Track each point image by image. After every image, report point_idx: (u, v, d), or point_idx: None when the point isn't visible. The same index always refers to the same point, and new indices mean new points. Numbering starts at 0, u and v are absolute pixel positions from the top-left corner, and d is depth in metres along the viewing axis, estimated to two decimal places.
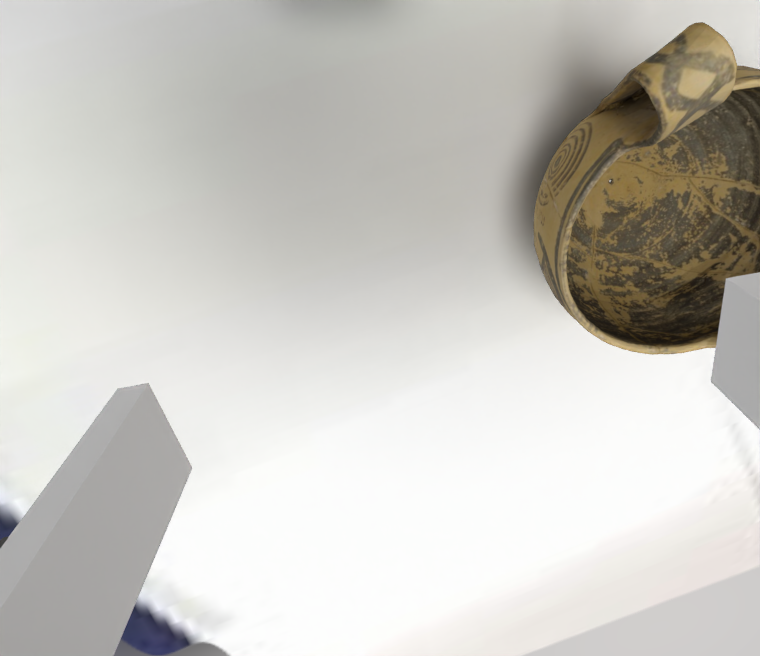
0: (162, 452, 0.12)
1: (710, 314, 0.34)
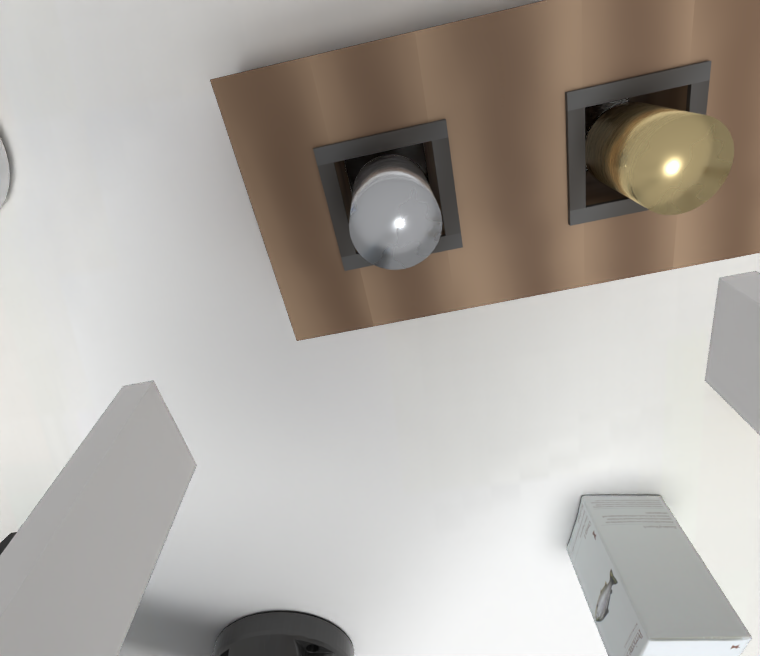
0: (167, 449, 0.12)
1: None
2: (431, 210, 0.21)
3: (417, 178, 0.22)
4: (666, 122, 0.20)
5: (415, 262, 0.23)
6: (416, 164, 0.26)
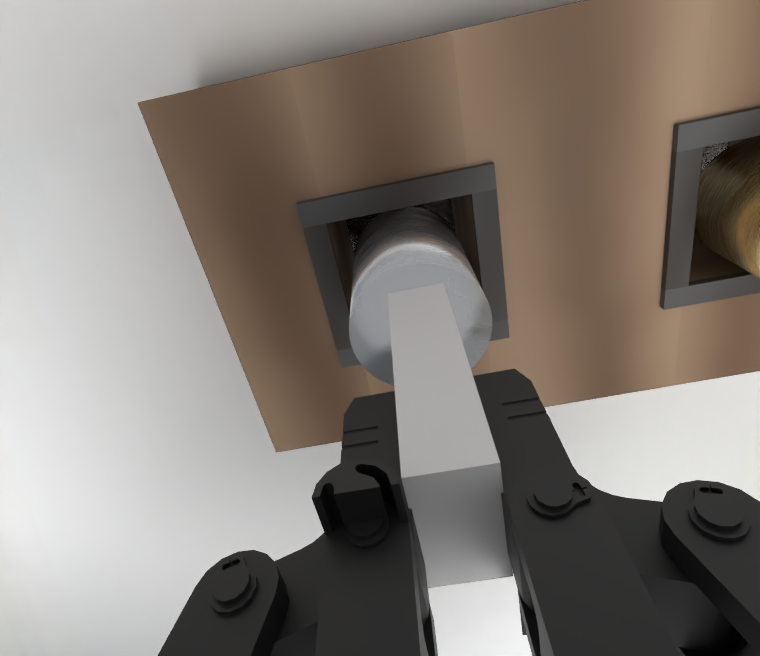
0: None
1: None
2: (477, 308, 0.14)
3: (453, 255, 0.14)
4: None
5: None
6: (444, 220, 0.18)
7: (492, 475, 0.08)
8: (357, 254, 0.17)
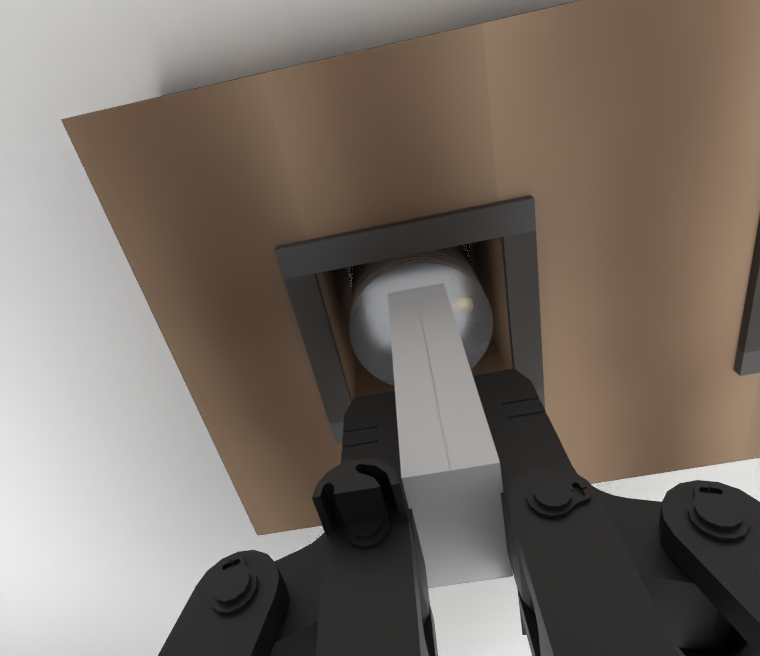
0: None
1: None
2: (477, 308, 0.14)
3: (454, 255, 0.14)
4: None
5: None
6: None
7: (492, 475, 0.08)
8: None
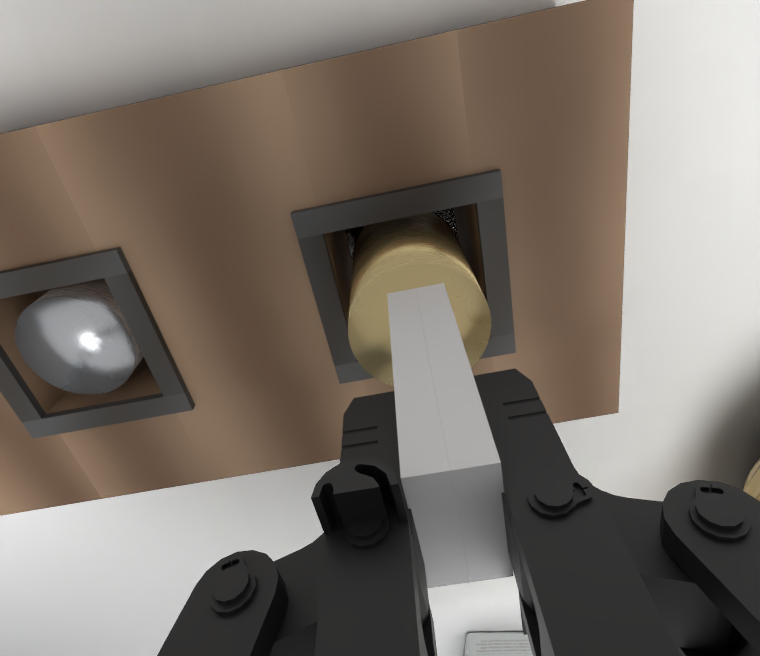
0: None
1: None
2: (113, 331, 0.18)
3: (107, 288, 0.18)
4: (382, 270, 0.13)
5: (113, 386, 0.19)
6: None
7: (493, 475, 0.08)
8: None
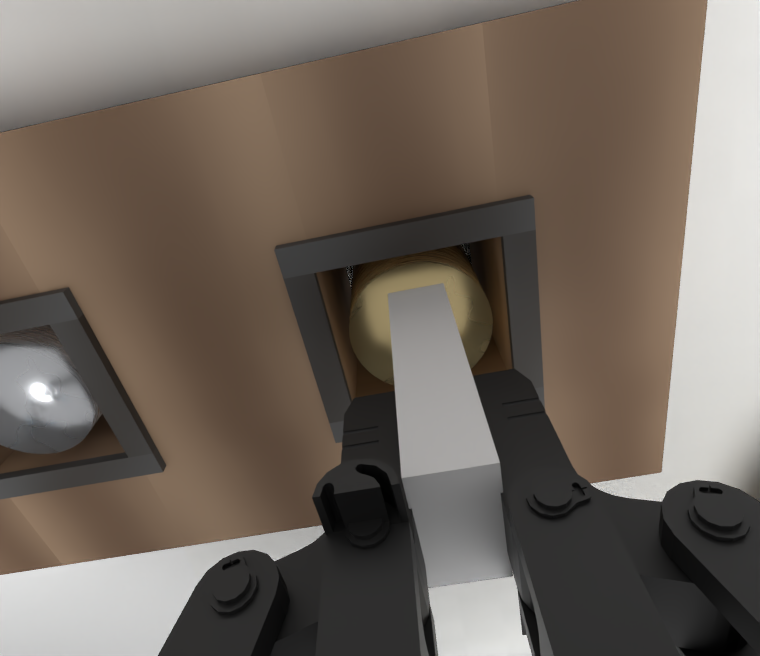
0: None
1: None
2: (66, 384, 0.15)
3: None
4: (383, 270, 0.13)
5: (69, 445, 0.16)
6: None
7: (492, 475, 0.08)
8: None
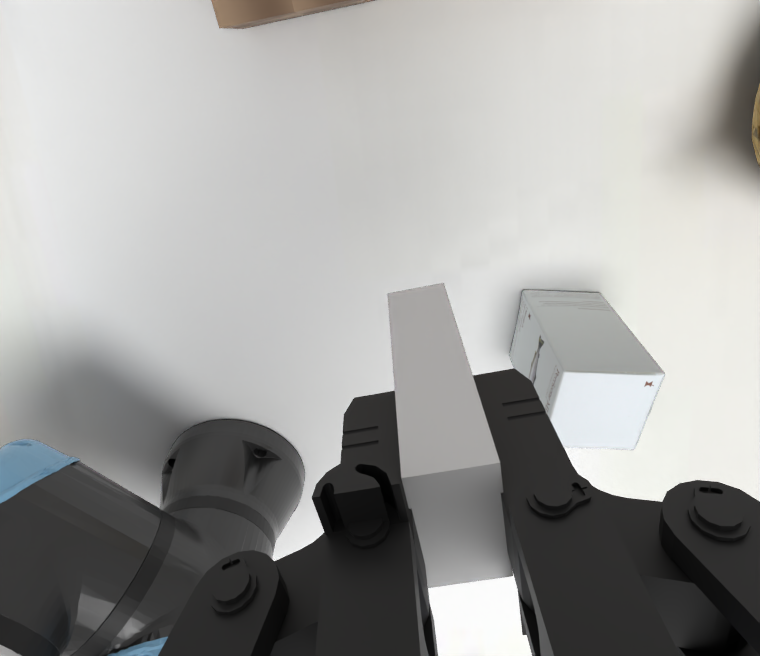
0: None
1: None
2: None
3: None
4: None
5: None
6: None
7: (492, 475, 0.08)
8: None
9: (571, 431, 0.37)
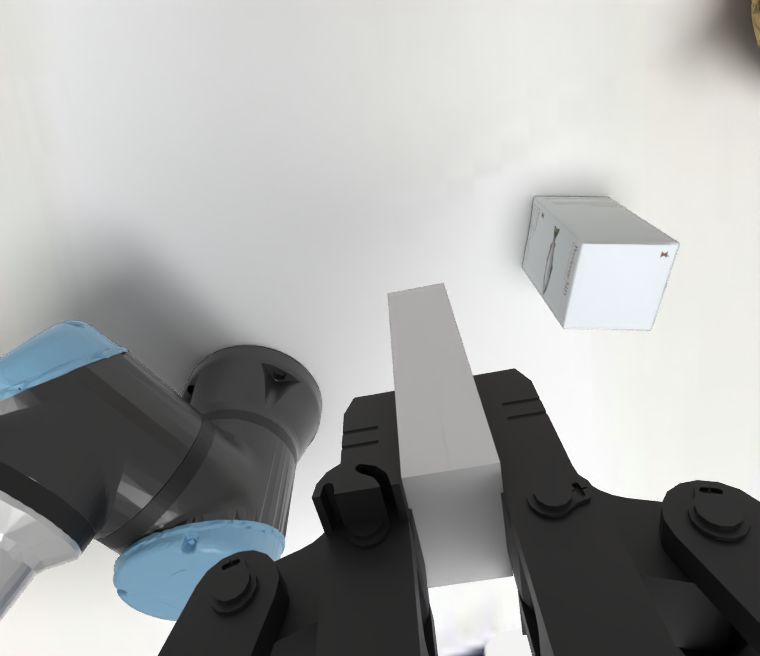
0: None
1: None
2: None
3: None
4: None
5: None
6: None
7: (492, 475, 0.08)
8: None
9: (590, 310, 0.38)
